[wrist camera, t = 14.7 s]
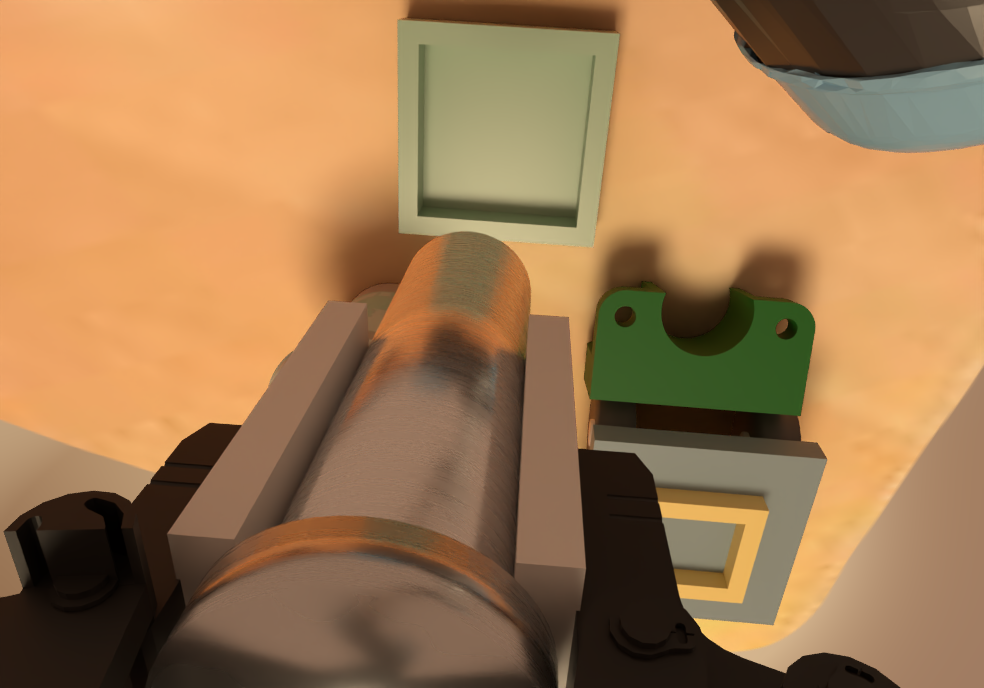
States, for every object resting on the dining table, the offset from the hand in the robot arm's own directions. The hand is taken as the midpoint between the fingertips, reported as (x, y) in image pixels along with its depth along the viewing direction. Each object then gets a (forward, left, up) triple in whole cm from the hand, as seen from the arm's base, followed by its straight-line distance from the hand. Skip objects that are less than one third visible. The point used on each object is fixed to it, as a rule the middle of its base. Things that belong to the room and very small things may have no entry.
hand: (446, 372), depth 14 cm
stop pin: (0, 0, -4) cm, 4 cm away
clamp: (+10, +11, -27) cm, 31 cm away
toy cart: (+20, +12, -26) cm, 35 cm away
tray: (0, 0, -26) cm, 26 cm away
